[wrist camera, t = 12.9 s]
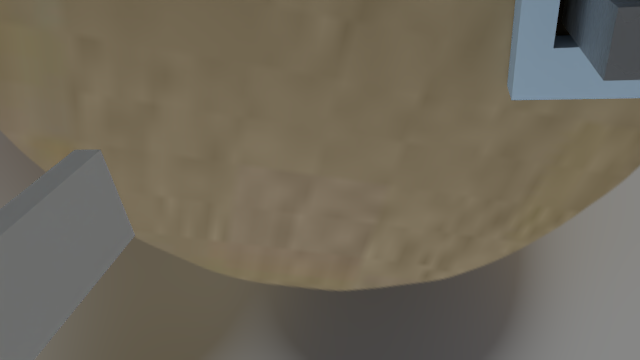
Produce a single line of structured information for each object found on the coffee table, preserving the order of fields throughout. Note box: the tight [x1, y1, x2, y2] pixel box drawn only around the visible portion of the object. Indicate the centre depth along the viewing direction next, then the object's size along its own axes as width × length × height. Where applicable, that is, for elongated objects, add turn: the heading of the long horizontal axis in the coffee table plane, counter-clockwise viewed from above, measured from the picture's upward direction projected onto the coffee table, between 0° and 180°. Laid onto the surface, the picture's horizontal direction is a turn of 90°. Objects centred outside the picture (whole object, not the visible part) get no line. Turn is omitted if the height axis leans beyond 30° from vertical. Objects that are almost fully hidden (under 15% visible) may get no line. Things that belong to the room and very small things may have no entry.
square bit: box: [561, 0, 640, 81], centre depth 31 cm, size 4×4×12 cm
